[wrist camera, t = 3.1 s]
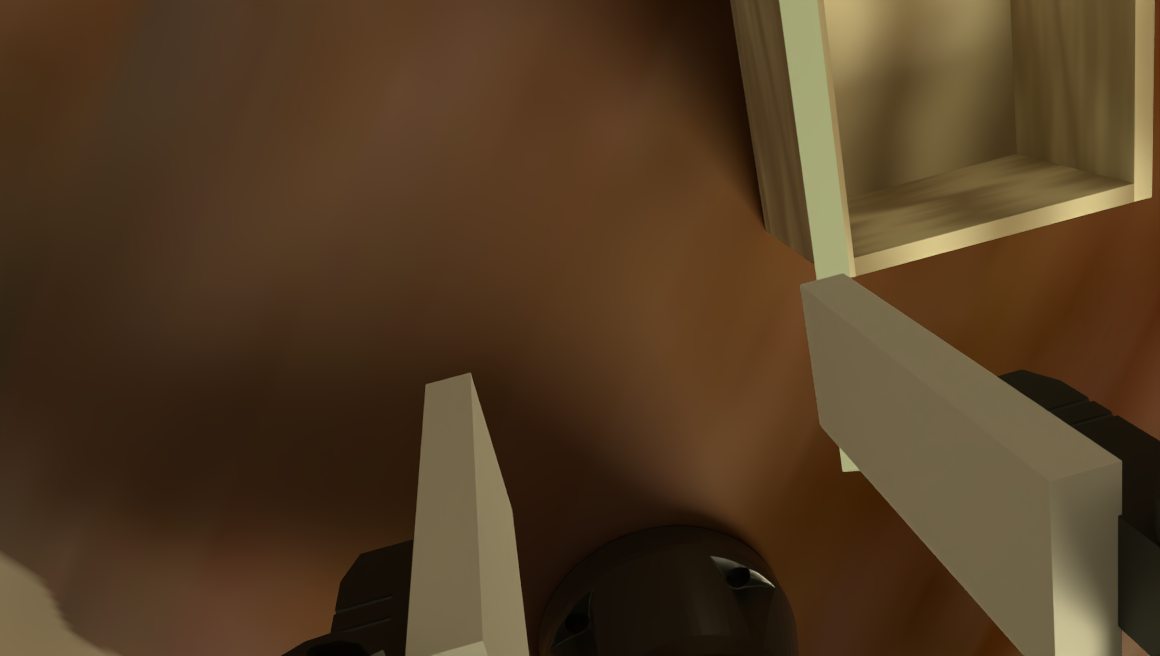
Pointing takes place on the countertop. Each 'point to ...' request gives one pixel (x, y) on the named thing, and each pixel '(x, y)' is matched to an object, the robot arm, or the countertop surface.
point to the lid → (816, 142)
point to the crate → (956, 118)
